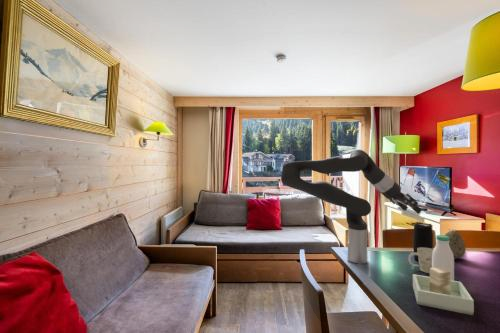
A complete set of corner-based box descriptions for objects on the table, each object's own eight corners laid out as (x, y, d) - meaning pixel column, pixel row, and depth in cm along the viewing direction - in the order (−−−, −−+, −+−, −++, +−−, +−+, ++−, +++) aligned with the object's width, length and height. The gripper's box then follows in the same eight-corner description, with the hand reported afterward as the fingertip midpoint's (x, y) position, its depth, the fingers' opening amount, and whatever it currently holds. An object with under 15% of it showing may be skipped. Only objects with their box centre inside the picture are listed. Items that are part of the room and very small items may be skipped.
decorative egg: (470, 262, 136) (470, 233, 136) (447, 261, 138) (447, 232, 138) (457, 255, 146) (457, 228, 146) (436, 254, 148) (436, 228, 148)
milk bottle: (455, 288, 108) (455, 239, 108) (432, 283, 112) (432, 236, 112) (452, 281, 114) (453, 235, 114) (431, 277, 118) (431, 232, 118)
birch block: (438, 299, 96) (438, 272, 96) (429, 293, 101) (429, 267, 101) (450, 299, 96) (450, 272, 96) (440, 293, 101) (440, 267, 101)
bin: (417, 304, 95) (417, 290, 95) (412, 286, 109) (412, 274, 109) (473, 315, 88) (473, 300, 88) (460, 294, 102) (460, 281, 102)
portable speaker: (420, 263, 134) (420, 225, 134) (409, 257, 144) (409, 221, 144) (437, 263, 134) (437, 225, 134) (425, 257, 144) (425, 221, 143)
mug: (441, 275, 120) (441, 253, 120) (411, 273, 123) (411, 251, 123) (433, 268, 128) (433, 247, 128) (404, 266, 131) (404, 246, 131)
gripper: (371, 190, 120) (397, 214, 120) (390, 193, 106) (419, 219, 106) (382, 178, 120) (407, 202, 121) (402, 179, 106) (430, 206, 107)
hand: (412, 210), depth 114 cm, fingers open, 8 cm apart
